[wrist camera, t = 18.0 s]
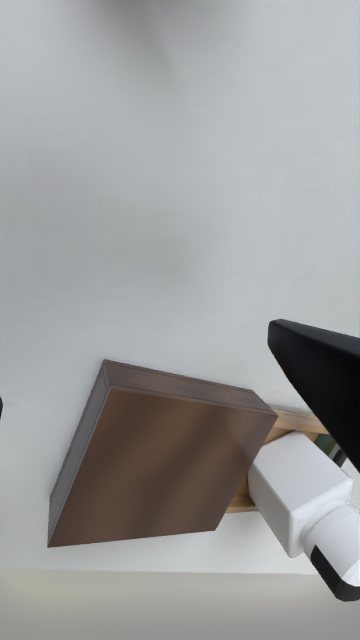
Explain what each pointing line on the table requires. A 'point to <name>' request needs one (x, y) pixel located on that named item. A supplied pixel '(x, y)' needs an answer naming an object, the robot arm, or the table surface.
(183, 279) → the table surface
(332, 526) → the medicine bottle
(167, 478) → the cabinet
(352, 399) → the robot arm
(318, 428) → the drawer
